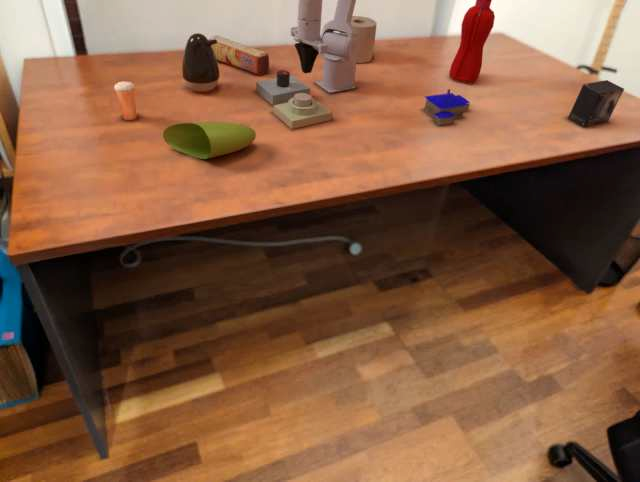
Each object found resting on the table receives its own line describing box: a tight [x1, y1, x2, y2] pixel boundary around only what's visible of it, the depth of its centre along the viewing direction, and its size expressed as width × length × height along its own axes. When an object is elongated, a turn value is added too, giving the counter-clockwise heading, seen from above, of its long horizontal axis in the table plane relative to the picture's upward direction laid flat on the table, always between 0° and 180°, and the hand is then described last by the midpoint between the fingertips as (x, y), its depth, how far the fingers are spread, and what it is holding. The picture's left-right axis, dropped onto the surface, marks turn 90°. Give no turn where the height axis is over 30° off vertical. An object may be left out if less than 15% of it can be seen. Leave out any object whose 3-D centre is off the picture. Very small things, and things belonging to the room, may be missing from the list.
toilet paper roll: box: [339, 15, 377, 64], centre depth 166 cm, size 12×12×12 cm
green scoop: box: [162, 121, 257, 160], centre depth 113 cm, size 8×12×20 cm
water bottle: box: [449, 0, 496, 84], centre depth 153 cm, size 9×11×25 cm
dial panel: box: [255, 75, 311, 106], centre depth 141 cm, size 12×10×3 cm
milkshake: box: [113, 74, 138, 121], centre depth 122 cm, size 4×5×10 cm
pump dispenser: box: [181, 32, 221, 93], centre depth 137 cm, size 10×10×15 cm
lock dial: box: [276, 69, 291, 87], centre depth 139 cm, size 4×4×4 cm
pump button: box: [294, 93, 313, 107], centre depth 130 cm, size 5×5×2 cm
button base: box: [272, 97, 332, 130], centre depth 131 cm, size 12×10×4 cm
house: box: [423, 88, 471, 126], centre depth 138 cm, size 11×14×6 cm
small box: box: [567, 79, 625, 128], centre depth 140 cm, size 11×6×10 cm, turn 117°
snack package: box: [208, 35, 270, 76], centre depth 154 cm, size 21×7×7 cm, turn 56°
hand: (306, 72), depth 130 cm, fingers closed
